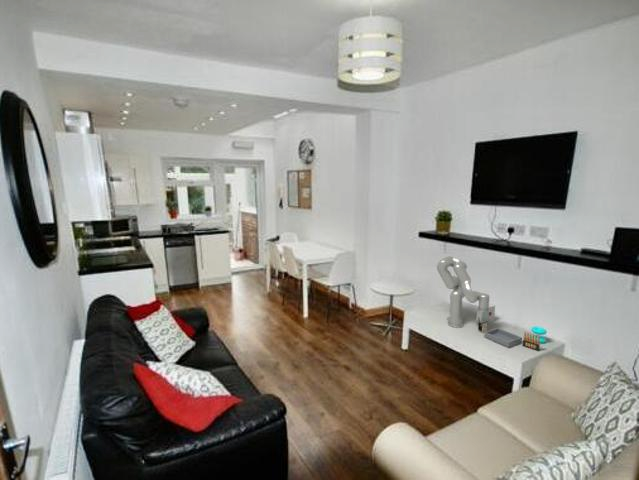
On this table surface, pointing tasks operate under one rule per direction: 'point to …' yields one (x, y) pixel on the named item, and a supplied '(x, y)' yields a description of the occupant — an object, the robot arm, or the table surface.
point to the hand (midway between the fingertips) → (482, 329)
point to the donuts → (539, 333)
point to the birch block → (483, 327)
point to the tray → (503, 337)
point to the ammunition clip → (531, 341)
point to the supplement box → (491, 313)
